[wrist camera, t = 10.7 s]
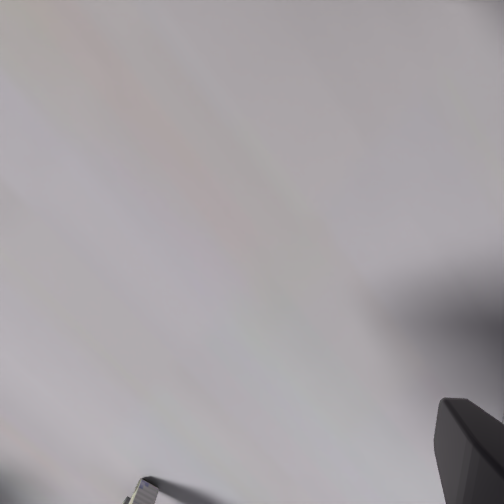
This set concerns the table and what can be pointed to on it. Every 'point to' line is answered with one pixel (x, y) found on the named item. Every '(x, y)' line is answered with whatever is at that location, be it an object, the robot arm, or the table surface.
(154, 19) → the table surface
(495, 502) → the robot arm
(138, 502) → the caliper
